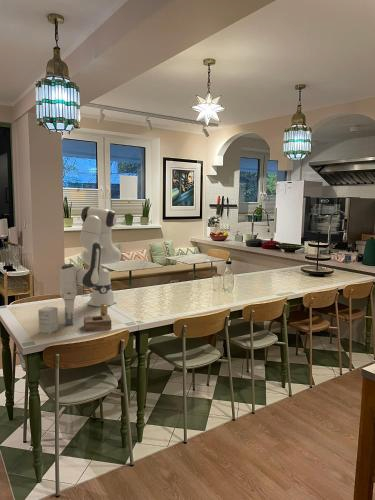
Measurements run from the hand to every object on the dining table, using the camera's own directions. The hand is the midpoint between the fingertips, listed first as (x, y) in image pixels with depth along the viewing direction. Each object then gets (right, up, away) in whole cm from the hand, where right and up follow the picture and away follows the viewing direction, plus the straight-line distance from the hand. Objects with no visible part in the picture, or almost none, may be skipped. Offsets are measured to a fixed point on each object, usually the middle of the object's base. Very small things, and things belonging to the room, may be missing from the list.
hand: (69, 316), depth 218 cm
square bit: (0, -5, +1) cm, 5 cm away
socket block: (+17, -6, -3) cm, 18 cm away
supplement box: (-8, -6, -10) cm, 15 cm away
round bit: (+19, -4, +8) cm, 20 cm away
